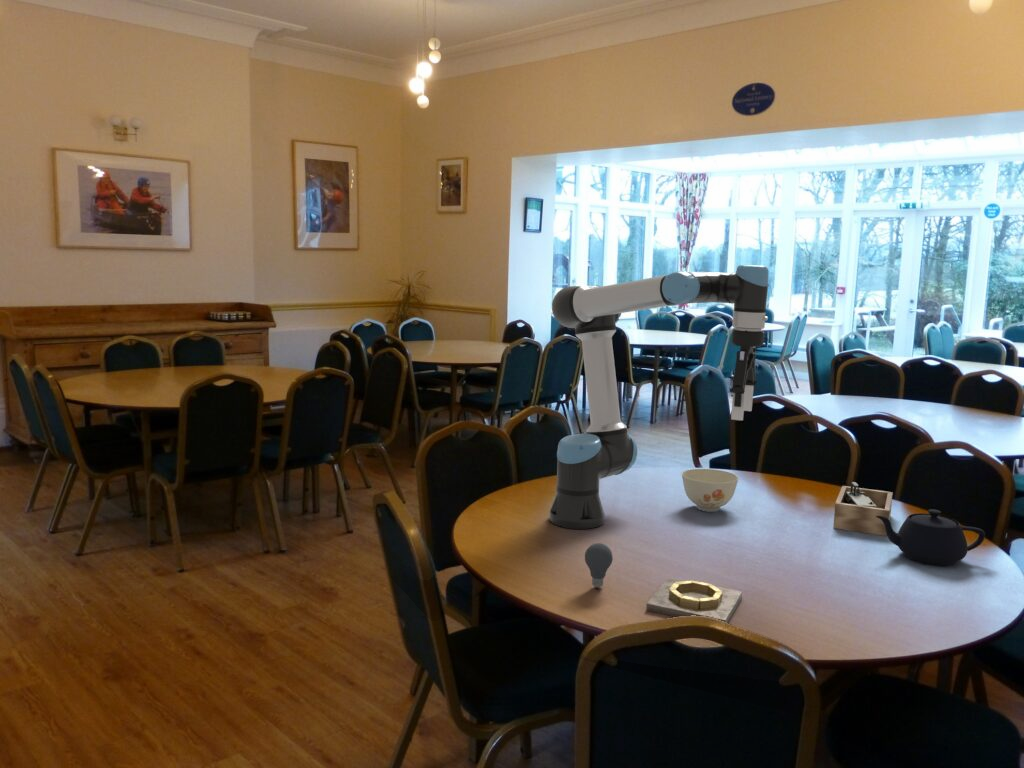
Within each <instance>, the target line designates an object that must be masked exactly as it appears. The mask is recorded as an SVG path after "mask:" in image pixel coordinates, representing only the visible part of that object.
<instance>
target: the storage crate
mask: <svg viewBox="0 0 1024 768" xmlns="http://www.w3.org/2000/svg"><path fill="white" fill-rule="evenodd" d="M857 488H858V487H857ZM857 488H856V489H857ZM859 489H860V492H864V493H865V494H866V497H869V498H870V499H871V501H872V502H873V503H874V504H875V505H876V506H877V508H874V507H867V506H860V505H852V504H845V503H844V501H845V496H846V492H851V486H847V485H842V486H841V487H840V491H839V493H838V496H837V498H836V499H835V500H836V501H835V502H834V517H833V527H832V528H833V529H838V530H844V531H848V532H849V531H850V532H856V533H864V534H870V535H876V536H883V537H887V534H886V529H885V525H884V523H883V521H882V520H881V519H879V518H877V517H876V516H883V517H886V518H888V519H889V521H890V520H891V514H892V513H891V512H892V505H893V504H892V501H893V494H894V493H893V491H892V492H891V491H885V490H879V489H869V488H864V487H862V488H861V487H859ZM853 492H854V486H853ZM890 522H891V521H890Z"/></svg>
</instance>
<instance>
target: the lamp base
mask: <svg viewBox="0 0 1024 768" xmlns="http://www.w3.org/2000/svg"><path fill="white" fill-rule="evenodd" d="M742 598H743V591H741V590H735V589H731V588H725V587H721V586H715V585H713V584H711V583H709V582H708V583H707V582H702V581H696V580H684V579H681V578H680V579H678V578H674V577H670V576H669V577H668V578H667V579H666V580H665V581H664V583H663V584H662V585H661V586H660V587H659V588H658V589H657V591H656V592H655V593H654V594H653V595H652V596H651V598H650V599H649V600H648V601H647V602H646V609H645V610H646V611H648V612H652V613H656V614H662V615H667V616H670V617H675V616H691V615H696V616H706V617H711V618H715V619H718V620H721V621H724V622H727V624H728V623H729V622H730V620H731V618H732V616H733V615H734V613H735V611H736V609H737V607H738V606H739V604H740V602H741V601H742Z"/></svg>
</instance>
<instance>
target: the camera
mask: <svg viewBox="0 0 1024 768" xmlns="http://www.w3.org/2000/svg"><path fill="white" fill-rule="evenodd" d="M850 487H851V492H846V496H845V501H844V503H845V504H852V505H860V506H867V507H874V508H877V506H876V505H875V504H874V503H873V502H872V501H871V499H870V498H869V497H866V494H865V493H864V492H860V489H859V488H860V487H859V484H858V483H857V482H855V481H851V483H850ZM853 487H854V492H853ZM856 488H857V489H856Z"/></svg>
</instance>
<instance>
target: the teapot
mask: <svg viewBox="0 0 1024 768" xmlns="http://www.w3.org/2000/svg"><path fill="white" fill-rule="evenodd" d="M927 512H928V513H919V512H918V513H913V514H912V513H911V514H909V515H908V516H907V517H905V518H906V519H905V520H904V521H903V522H902V524H901V526H900V528H899V530H898V531H895V530H894V529H893V527H892V523H891V521H889V519H888V518H886V517H883V516H876V517H877V518H879V519H881V520H882V521H883V523H884V525H885V529H886V534H887V536H886V537H887V538H888V540H889V541H890V542H891V543H892V544H893V545H895V546H897V547H898V549H899V550H900V551H901V552H902V553H903V554H904V555H905V556H906V557H907V558H909V559H910V560H913V561H915V562H917V563H922V564H926V565H933V566H952V565H955V564H956V563H958V562H960V561H961V560H963V559H964V558H965V557H966V556H967V554H968V552H970V551H972V550H974V549H976V548H978V547H979V546H980V545H981V544H982V543H983V542H984V541H985V538H986V532H985V531H984V529H982V528H979V527H974V526H968V525H967V526H966V525H961V524H960V522H958V520H956V519H954V518H950V517H948V516H943V515H941V513H942V512H941V511H940V510H938V509H934V508H932V509H930V508H929V509H928V510H927ZM964 531H968V532H976V533H978V537H977V539H976V540H975V541H974V542H972V544H970V545H968V542H967V538H966V535H965V533H964Z"/></svg>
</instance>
